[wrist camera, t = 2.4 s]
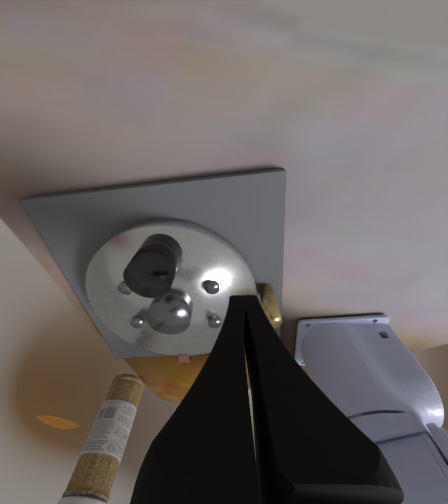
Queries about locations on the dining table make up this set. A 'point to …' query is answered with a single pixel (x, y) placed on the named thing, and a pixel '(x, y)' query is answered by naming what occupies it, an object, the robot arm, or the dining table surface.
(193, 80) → the dining table surface
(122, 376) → the sprinkles bottle
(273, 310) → the brass dowel
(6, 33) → the dining table surface
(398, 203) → the dining table surface
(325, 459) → the robot arm
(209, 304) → the flange plate
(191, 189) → the charcoal board
